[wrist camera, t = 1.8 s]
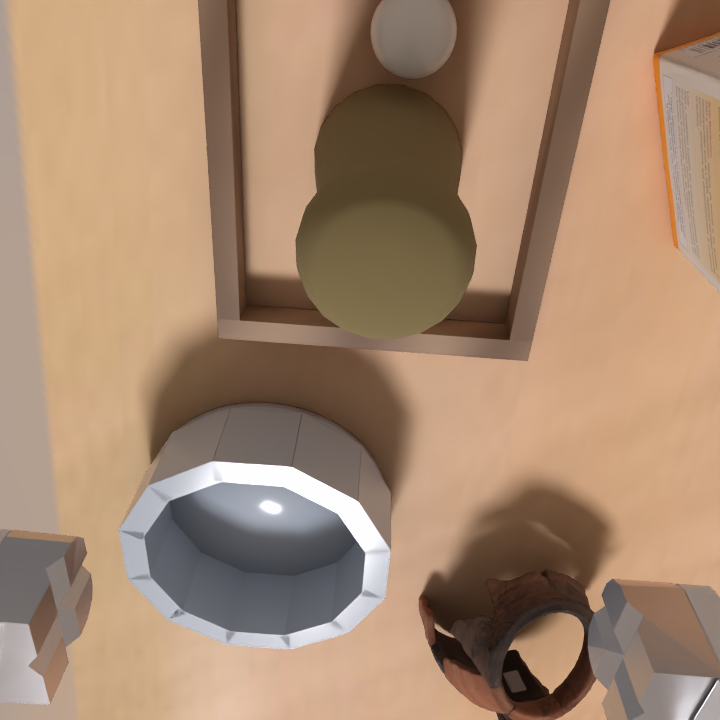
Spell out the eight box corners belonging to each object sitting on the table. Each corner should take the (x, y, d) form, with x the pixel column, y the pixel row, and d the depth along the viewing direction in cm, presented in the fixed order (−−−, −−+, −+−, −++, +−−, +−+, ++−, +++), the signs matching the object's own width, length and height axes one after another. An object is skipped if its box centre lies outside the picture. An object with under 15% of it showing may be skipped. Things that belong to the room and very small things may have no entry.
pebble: (458, -17, 24) (466, -11, 21) (448, 74, 25) (454, 89, 23) (374, -23, 24) (372, -18, 21) (369, 68, 25) (366, 83, 23)
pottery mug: (390, 561, 41) (454, 636, 33) (522, 499, 43) (609, 555, 35) (438, 717, 44) (506, 818, 36) (558, 651, 46) (645, 733, 39)
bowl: (399, 410, 34) (400, 475, 30) (379, 584, 41) (378, 656, 37) (138, 391, 34) (104, 453, 30) (163, 568, 41) (138, 638, 37)
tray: (610, -56, 23) (623, -56, 22) (522, 344, 32) (527, 360, 30) (203, -85, 23) (192, -86, 22) (225, 322, 32) (218, 338, 30)
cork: (392, 48, 25) (391, 111, 16) (493, 165, 27) (545, 283, 18) (283, 159, 27) (226, 272, 18) (383, 259, 30) (379, 406, 20)
